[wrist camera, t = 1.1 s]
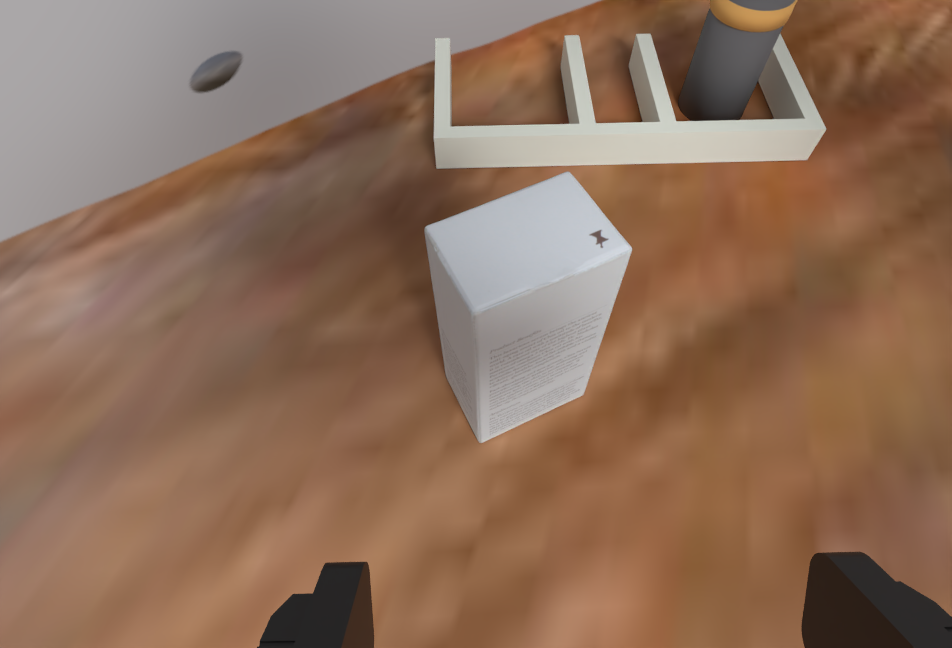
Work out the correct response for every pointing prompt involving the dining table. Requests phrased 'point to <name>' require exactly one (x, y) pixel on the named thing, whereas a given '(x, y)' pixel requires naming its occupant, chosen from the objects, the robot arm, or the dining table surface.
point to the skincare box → (523, 300)
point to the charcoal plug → (731, 57)
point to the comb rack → (634, 141)
